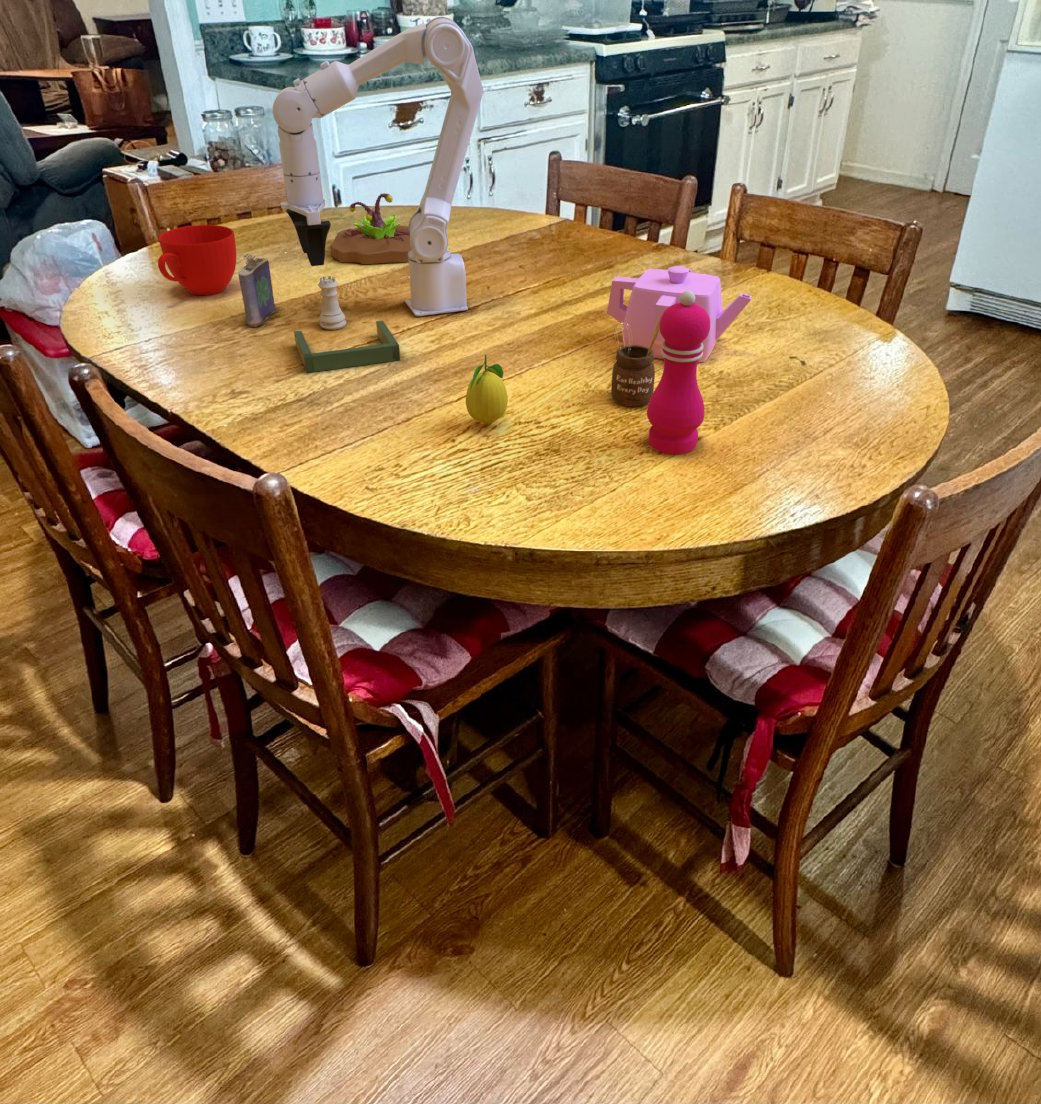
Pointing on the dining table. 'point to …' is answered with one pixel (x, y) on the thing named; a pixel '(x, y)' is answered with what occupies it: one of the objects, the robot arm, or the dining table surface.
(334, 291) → the rook chess piece
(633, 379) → the utensil holder
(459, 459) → the dining table surface
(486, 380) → the lemon
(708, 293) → the teakettle
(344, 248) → the plant
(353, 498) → the dining table surface
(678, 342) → the pepper mill
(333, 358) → the bay
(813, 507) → the dining table surface
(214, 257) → the ceramic cup
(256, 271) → the flask
